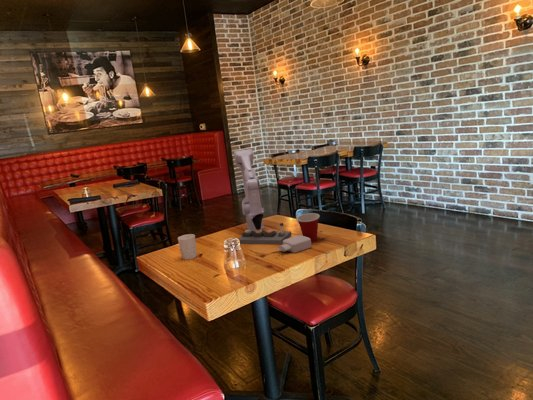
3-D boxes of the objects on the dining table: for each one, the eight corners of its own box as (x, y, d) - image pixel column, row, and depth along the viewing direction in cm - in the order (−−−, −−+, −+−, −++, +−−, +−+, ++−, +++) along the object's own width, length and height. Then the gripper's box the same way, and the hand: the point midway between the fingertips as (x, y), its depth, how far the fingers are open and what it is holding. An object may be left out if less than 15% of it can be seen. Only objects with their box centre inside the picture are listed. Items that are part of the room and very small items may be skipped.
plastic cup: (296, 244, 186) (293, 219, 184) (302, 237, 196) (300, 213, 193) (318, 244, 182) (316, 219, 179) (324, 237, 191) (322, 212, 189)
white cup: (201, 254, 189) (197, 234, 187) (192, 260, 182) (189, 239, 180) (186, 254, 192) (183, 234, 190) (177, 260, 184) (174, 239, 182)
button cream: (257, 232, 202) (257, 229, 202) (263, 232, 201) (262, 229, 200) (254, 234, 199) (254, 231, 199) (260, 234, 198) (260, 231, 198)
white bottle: (272, 252, 179) (299, 244, 187) (284, 257, 171) (311, 248, 179) (271, 242, 178) (298, 234, 186) (283, 247, 170) (310, 238, 178)
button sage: (246, 232, 205) (246, 229, 204) (252, 232, 203) (252, 229, 203) (244, 234, 202) (243, 231, 201) (249, 234, 200) (249, 231, 200)
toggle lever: (280, 232, 196) (280, 222, 197) (283, 232, 196) (284, 222, 197) (278, 232, 195) (279, 222, 196) (282, 232, 194) (282, 222, 195)
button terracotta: (268, 232, 200) (267, 229, 199) (274, 232, 198) (273, 229, 198) (265, 234, 197) (265, 231, 196) (271, 234, 196) (271, 231, 195)
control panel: (248, 234, 211) (248, 227, 210) (291, 235, 201) (290, 227, 200) (236, 243, 198) (235, 236, 198) (281, 244, 188) (280, 236, 188)
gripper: (256, 206, 189) (259, 233, 191) (268, 199, 202) (271, 225, 204) (242, 206, 192) (246, 233, 194) (255, 199, 205) (258, 225, 207)
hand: (258, 229), depth 200 cm, fingers closed
